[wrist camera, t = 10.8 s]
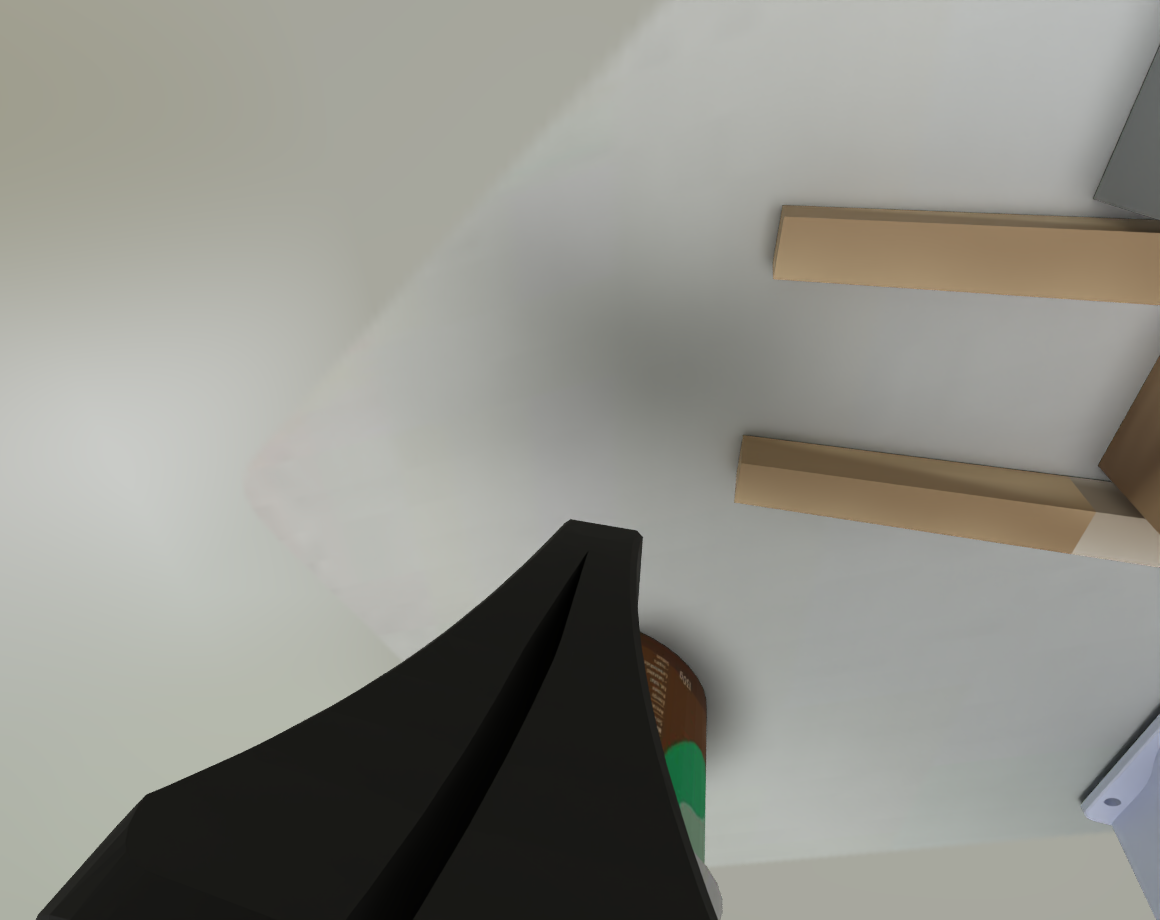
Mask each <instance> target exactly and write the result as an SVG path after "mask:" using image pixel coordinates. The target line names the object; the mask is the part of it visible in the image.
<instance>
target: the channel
mask: <svg viewBox="0 0 1160 920" xmlns="http://www.w3.org/2000/svg"><path fill="white" fill-rule="evenodd" d="M773 279H778V280H793V281H808V282H823V283H837V284H852V285H867V286H882V287H897V288H912V289H926V290H941V291H956V292H971V293H986V294H1001V295H1015V296H1030V297H1045V298H1060V299H1075V300H1090V301H1105V302H1119V303H1134V304H1149V305H1160V220H1145V219H1119V218H1094V217H1069V216H1044V215H1018V214H993V213H968V212H942V211H917V210H892V209H867V208H841V207H816V206H791V205H783V206H782V212H781V218H780V224H779V229H778V235H777V241H776V247H775V253H774V258H773ZM734 502H735V503H742V504H748V505H755V506H761V507H768V508H774V509H781V510H787V511H794V512H800V513H807V514H813V515H820V516H827V517H833V518H840V519H846V520H853V521H859V522H866V523H872V524H879V525H885V526H892V527H898V528H905V529H911V530H918V531H924V532H931V533H937V534H944V535H951V536H957V537H964V538H970V539H977V540H983V541H990V542H996V543H1003V544H1009V545H1016V546H1022V547H1029V548H1035V549H1042V550H1048V551H1055V552H1061V553H1068V554H1075V555H1081V556H1088V557H1094V558H1101V559H1107V560H1114V561H1120V562H1127V563H1133V564H1140V565H1146V566H1153V567H1159V568H1160V534H1159V533H1158V532H1157V531H1156V530H1155V529H1154V528H1153V526H1152V525H1151V524H1150V523H1149V522H1148V521H1147V520H1146V519H1145V518H1144V516H1143V515H1142V514H1141V513H1140V512H1139V511H1138V510H1137V509H1136V508H1135V506H1134V505H1133V504H1132V503H1131V502H1130V501H1129V500H1128V499H1127V497H1126V496H1125V495H1124V494H1123V493H1122V492H1121V491H1120V490H1119V489H1118V487H1117V486H1116V485H1115V484H1114V483H1113V482H1108V481H1100V480H1092V479H1084V478H1076V477H1068V476H1060V475H1053V474H1045V473H1037V472H1029V471H1021V470H1013V469H1005V468H997V467H990V466H982V465H974V464H966V463H958V462H950V461H942V460H935V459H927V458H919V457H911V456H903V455H895V454H887V453H880V452H872V451H864V450H856V449H848V448H840V447H832V446H825V445H817V444H809V443H801V442H793V441H785V440H777V439H770V438H762V437H754V436H746V435H743V439H742V445H741V451H740V457H739V462H738V468H737V476H736V488H735V500H734Z"/></svg>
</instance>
